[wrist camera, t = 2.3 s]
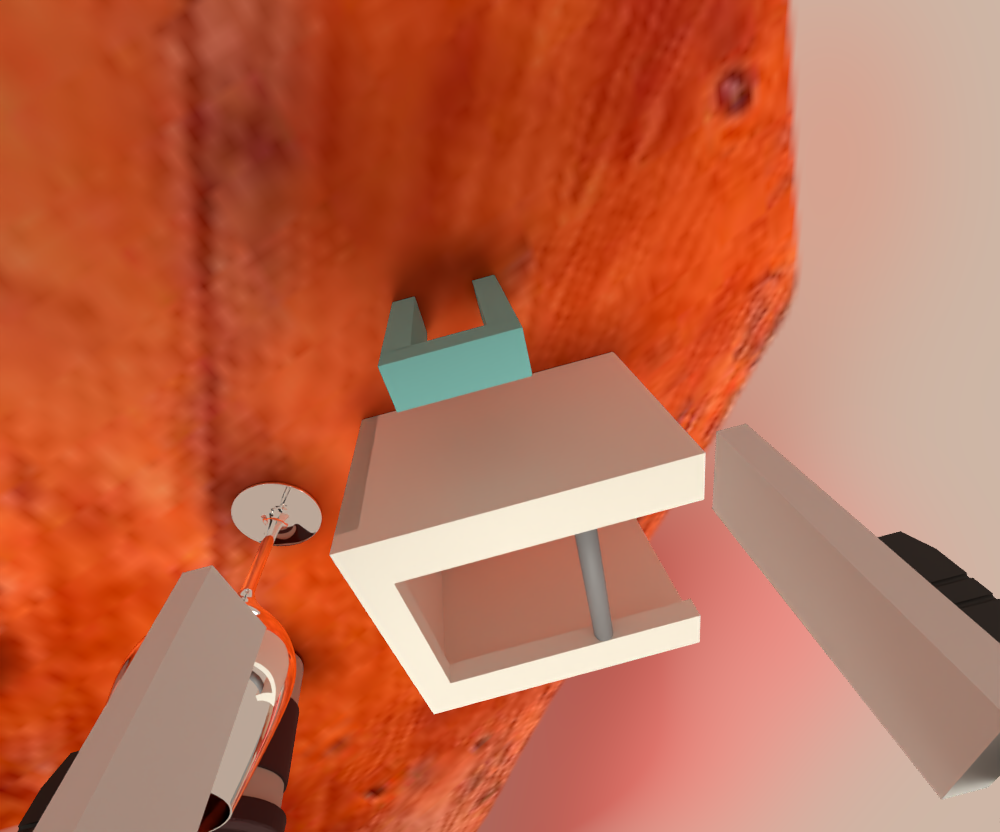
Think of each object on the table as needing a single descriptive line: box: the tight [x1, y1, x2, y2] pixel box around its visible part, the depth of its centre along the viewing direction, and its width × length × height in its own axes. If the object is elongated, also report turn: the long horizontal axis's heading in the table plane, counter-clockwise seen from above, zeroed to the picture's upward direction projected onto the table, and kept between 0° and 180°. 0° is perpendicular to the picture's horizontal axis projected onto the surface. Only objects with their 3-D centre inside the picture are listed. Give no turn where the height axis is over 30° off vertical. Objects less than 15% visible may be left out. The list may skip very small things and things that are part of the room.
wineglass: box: [105, 482, 322, 832], centre depth 26 cm, size 8×8×18 cm
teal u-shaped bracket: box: [378, 275, 532, 413], centre depth 23 cm, size 2×6×9 cm, turn 103°
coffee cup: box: [212, 654, 303, 832], centre depth 36 cm, size 10×10×15 cm
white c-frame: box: [330, 352, 706, 714], centre depth 30 cm, size 16×18×12 cm
